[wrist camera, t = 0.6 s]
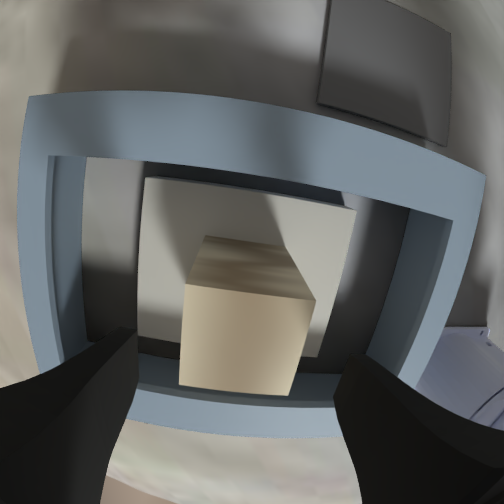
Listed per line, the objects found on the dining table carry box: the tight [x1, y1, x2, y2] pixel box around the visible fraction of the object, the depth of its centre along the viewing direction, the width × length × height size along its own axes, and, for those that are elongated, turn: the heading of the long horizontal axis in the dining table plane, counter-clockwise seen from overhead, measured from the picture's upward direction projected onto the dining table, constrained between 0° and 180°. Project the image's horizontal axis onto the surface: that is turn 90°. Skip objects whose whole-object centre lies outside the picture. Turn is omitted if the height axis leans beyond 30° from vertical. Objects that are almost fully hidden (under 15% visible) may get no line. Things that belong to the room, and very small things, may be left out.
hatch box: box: [17, 90, 486, 438], centre depth 16 cm, size 24×18×6 cm
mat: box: [316, 0, 452, 146], centre depth 15 cm, size 10×10×1 cm
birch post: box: [179, 235, 316, 396], centre depth 14 cm, size 4×4×7 cm
